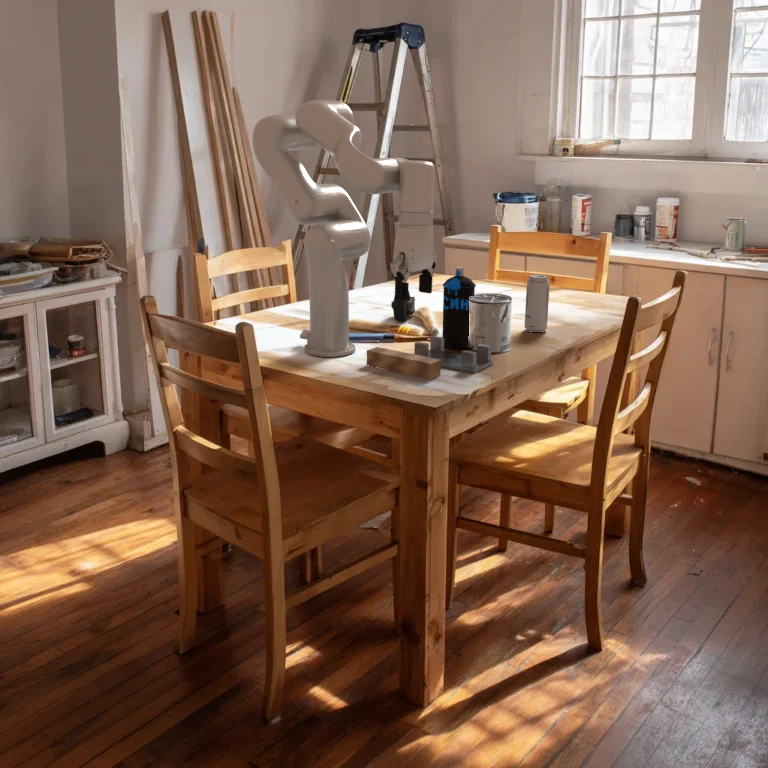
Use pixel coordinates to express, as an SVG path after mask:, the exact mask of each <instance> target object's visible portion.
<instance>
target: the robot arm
mask: <svg viewBox="0 0 768 768" xmlns="http://www.w3.org/2000/svg"><path fill="white" fill-rule="evenodd" d="M354 119H355V118H354V114H353V111H352V110H351V108H350V107H349V106H348V104H346V103H345V102H343V101H340V100H337V99H336V100H332V99H331V100H330V99H329V100H328V99H326V100H325V99H321V100H319V99H315V100H308V101H305V102H304V103H302V104H301V105H300V106H299V107H298V109H297V110H296V113H295V114H273V115H267V116H265V117H263V118H261V119H259V120H258V122H257V123H256V124H255V126H254V128H253V132H252V147H253V153H254V155H255V157H256V160H257V161H258V164H259V165H260V167H261V168H262V170H263V171H264V173H265V174H266V175H267V177H268V178H269V179H270V180H271V182H272V184H273V185H274V187H275V188H276V190H277V192H278V195H280V198H281V199H282V201H283V202H284V204H285V207H286V208H287V210H288V211H289V213H290V214H291V216H292V219H294V220H295V221H296V222H297V223H298V224H299V225H302V226H311V227H310V228H309V229H308V230H307V231H306V233H305V235H304V239H303V245H304V246H303V247H304V253H305V257H306V261H307V262H306V263H307V270H308V285H309V286H308V287H309V288H308V289H309V329H306V328H305V329H303V330H302V332H301V333H300V335H299V339H301V340H303V339H304V340H306V344H305V345H304V352H305V353H306V354H308V355H310V356H314V357H321V358H323V357H324V358H335V357H343V356H348V355H351V354H353V353H355V352H356V345H355V344H354V343H352V342H350V319H349V318H350V313H349V312H350V310H349V307H350V306H349V303H350V302H349V301H350V300H349V299H350V297H349V294H350V293H349V292H350V289H349V277H348V274H347V271H346V269H345V267H344V265H343V262H342V261H346V260H351V259H357V258H360V257H362V256H363V255H365V254H366V253H368V252H369V250H370V248H371V243H372V242H371V241H372V238H371V233H370V230H369V227H368V226H367V224H366V222H365V220H364V218H363V217H362V215H361V213H360V211H359V210H358V209H357V206H356V205H355V204H354V202H353V200H352V199H351V196H350V195H349V194H348V192H347V191H346V190H345V189H344V188H343V187H341V186H340V185H338V184H335V183H330V182H329V183H316V182H315V181H314V180H313V179H312V178H311V176H310V174H309V173H308V171H307V169H306V167H305V166H304V165H303V164H302V163H301V162H300V161H299V160H298V159H297V158H295V157H294V156H293V155H292V154H290V153H289V151H290V152H291V151H294V152H295V151H307V150H313V149H317V148H319V147H320V148H321V149H323V150H324V151H325V152H326V153H328V154H329V155H330V156H332V157H333V158H334V163H335V166H336V169H337V170H338V172H339V174H340V176H341V177H342V178H343V179H344V180H345V181H346V182H348V183H349V184H350V185H352V186H353V187H354V188H356V189H357V190H358V191H360V192H362V193H364V194H367V195H380V194H392V193H393V194H394V193H398V223H397V224H398V226H397V228H396V231H395V236H394V246H393V255H392V262H391V263H390V264H389V267H390V270H391V271H390V272H391V277H392V278H393V282H394V296H395V299H397V300H403V301H407V300H408V290H409V287H410V286H409V284H410V283H409V282H408V280H409V278H410V275H411V274H413V273H418V272H420V273H421V274H418V276H419V277H418V278H419V279H418V280H419V281H418V291H419V293H424V294H432V292H433V276H434V274H435V268H436V263H437V259H438V253H436V252H435V251H434V250H435V249H434V248H435V247H434V246H435V245H434V242H435V240H434V229H433V227H434V226H433V225H434V201H435V199H434V198H435V170H436V169H435V165H434V163H433V162H430V161H428V160H411V159H408V158H405V157H399V156H398V157H396V156H395V157H377V158H372V157H369V156H367V155H366V154H364V153H363V152H362V151H360V147H361V145H362V142H363V141H362V140H363V135H362V131H361V130H360V128H359V127H358V126H357V125H356V124H354V122H355V121H354Z"/></svg>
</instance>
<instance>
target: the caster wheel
mask: <svg viewBox="0 0 768 768" xmlns="http://www.w3.org/2000/svg"><path fill="white" fill-rule="evenodd" d="M410 294H411V293H410V291H409V289H408V300H407V301H403V300H397V299H395V295H394V297H393V300H392V301H391V308H392V310H393V319H394V320H395V321H396V322H407V321H408V319H409V318H410V317H409V315H412V314H413V313H414V314H415V311H416V309H415V305H416V303H415V301H416V298H415V296H411V295H410Z"/></svg>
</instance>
